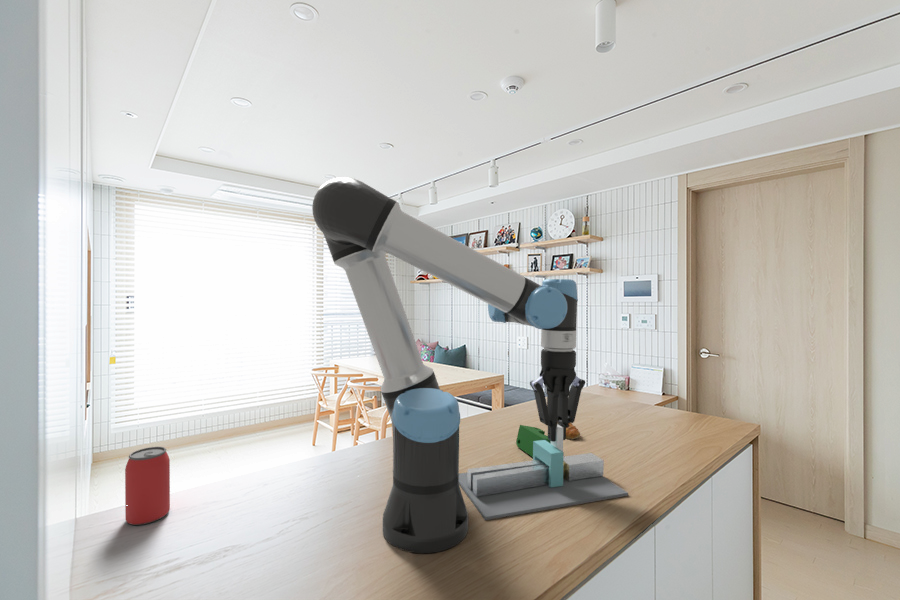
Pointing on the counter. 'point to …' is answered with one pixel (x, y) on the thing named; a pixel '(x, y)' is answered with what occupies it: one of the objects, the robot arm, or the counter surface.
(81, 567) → the counter surface
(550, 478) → the collar
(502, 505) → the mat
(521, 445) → the clamp
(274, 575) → the counter surface
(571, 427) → the pastry
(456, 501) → the robot arm
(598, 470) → the tongs body
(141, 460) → the beer can
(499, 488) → the arm
